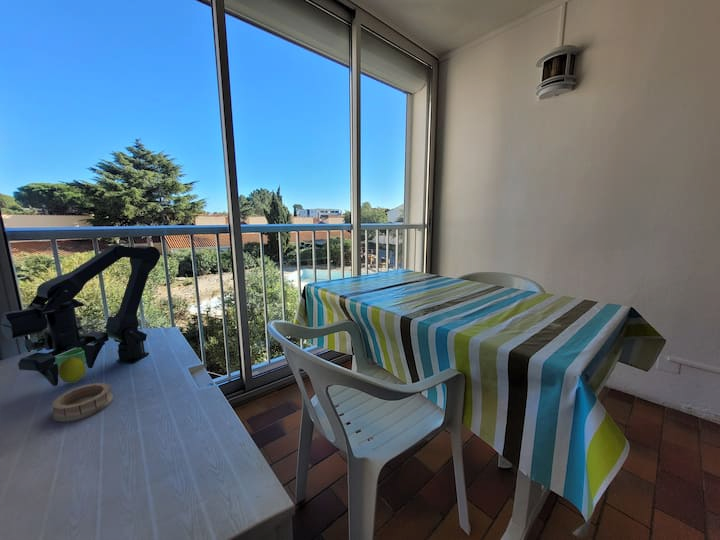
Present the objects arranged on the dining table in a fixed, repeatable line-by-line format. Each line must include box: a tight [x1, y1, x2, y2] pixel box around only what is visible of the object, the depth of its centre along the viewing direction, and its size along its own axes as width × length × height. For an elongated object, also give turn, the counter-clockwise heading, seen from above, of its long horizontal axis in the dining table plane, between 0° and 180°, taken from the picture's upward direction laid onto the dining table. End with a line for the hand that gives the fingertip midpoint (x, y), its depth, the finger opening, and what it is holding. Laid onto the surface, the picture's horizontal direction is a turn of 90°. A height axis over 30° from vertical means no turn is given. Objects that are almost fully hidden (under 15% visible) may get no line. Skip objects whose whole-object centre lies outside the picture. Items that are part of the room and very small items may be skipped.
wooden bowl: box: [51, 382, 114, 423], centre depth 72 cm, size 11×11×3 cm
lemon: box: [58, 357, 87, 384], centre depth 82 cm, size 6×6×8 cm
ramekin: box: [54, 347, 86, 369], centre depth 94 cm, size 9×9×4 cm
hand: (73, 376), depth 83 cm, fingers open, 9 cm apart
